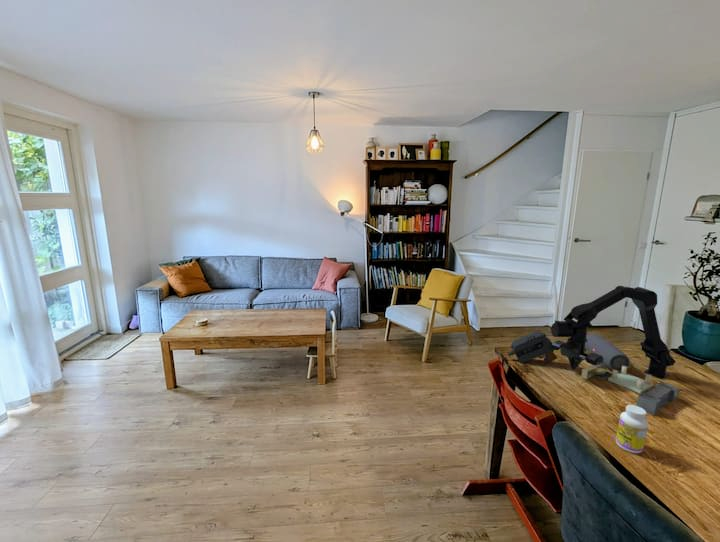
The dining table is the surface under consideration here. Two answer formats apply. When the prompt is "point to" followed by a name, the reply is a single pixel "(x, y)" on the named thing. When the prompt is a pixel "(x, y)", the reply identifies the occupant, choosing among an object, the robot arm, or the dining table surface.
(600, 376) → the flange
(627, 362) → the bluetooth speaker
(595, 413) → the dining table surface
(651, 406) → the grey bone-shaped bar
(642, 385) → the rack
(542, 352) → the tool
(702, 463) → the dining table surface
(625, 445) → the supplement bottle
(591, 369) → the brass door handle
